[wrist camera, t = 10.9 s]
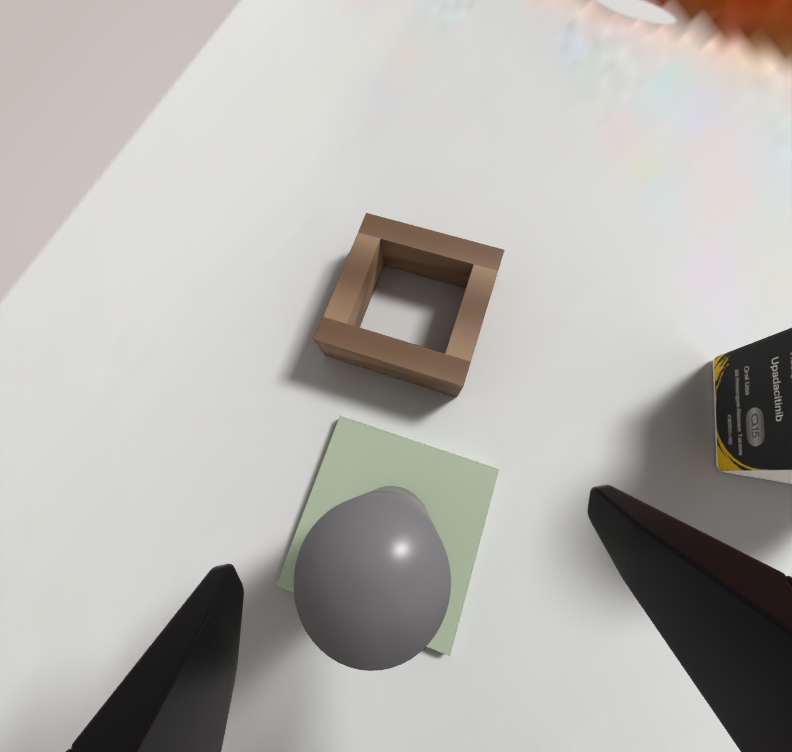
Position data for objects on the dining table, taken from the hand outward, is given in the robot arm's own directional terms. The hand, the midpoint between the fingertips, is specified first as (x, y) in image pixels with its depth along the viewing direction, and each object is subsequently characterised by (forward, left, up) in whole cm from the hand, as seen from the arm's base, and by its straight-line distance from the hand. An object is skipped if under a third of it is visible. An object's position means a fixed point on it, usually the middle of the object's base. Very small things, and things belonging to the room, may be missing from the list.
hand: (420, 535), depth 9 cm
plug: (-2, +1, -13) cm, 13 cm away
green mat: (-2, +1, -13) cm, 14 cm away
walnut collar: (+11, +4, -13) cm, 18 cm away
